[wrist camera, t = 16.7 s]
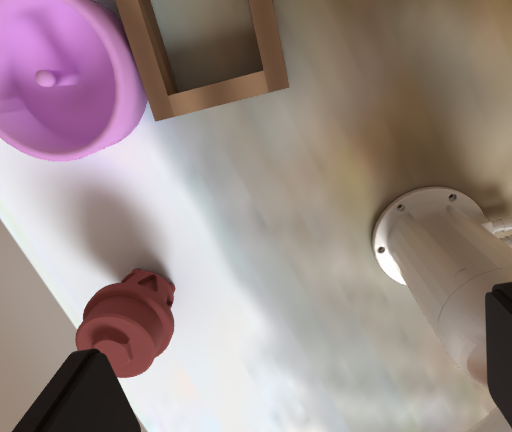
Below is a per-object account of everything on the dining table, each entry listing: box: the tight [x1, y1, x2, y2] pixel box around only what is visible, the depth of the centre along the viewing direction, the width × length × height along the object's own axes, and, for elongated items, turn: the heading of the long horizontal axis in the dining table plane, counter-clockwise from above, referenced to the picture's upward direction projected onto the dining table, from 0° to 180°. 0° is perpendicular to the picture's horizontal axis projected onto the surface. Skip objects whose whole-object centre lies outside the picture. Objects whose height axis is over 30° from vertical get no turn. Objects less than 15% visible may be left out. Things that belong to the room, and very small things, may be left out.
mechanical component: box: [76, 269, 175, 378], centre depth 42 cm, size 12×10×10 cm
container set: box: [0, 0, 148, 161], centre depth 31 cm, size 25×15×13 cm, turn 24°
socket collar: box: [115, 0, 289, 121], centre depth 35 cm, size 14×14×4 cm
